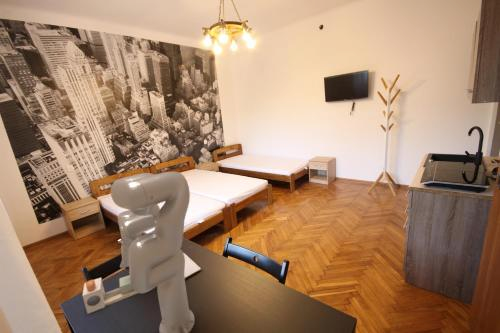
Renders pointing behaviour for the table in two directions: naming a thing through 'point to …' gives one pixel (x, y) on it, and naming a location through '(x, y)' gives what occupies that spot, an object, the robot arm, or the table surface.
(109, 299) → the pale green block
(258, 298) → the table surface
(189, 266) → the plate
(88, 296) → the cabinet
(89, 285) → the knob
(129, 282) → the carriage
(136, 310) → the table surface
